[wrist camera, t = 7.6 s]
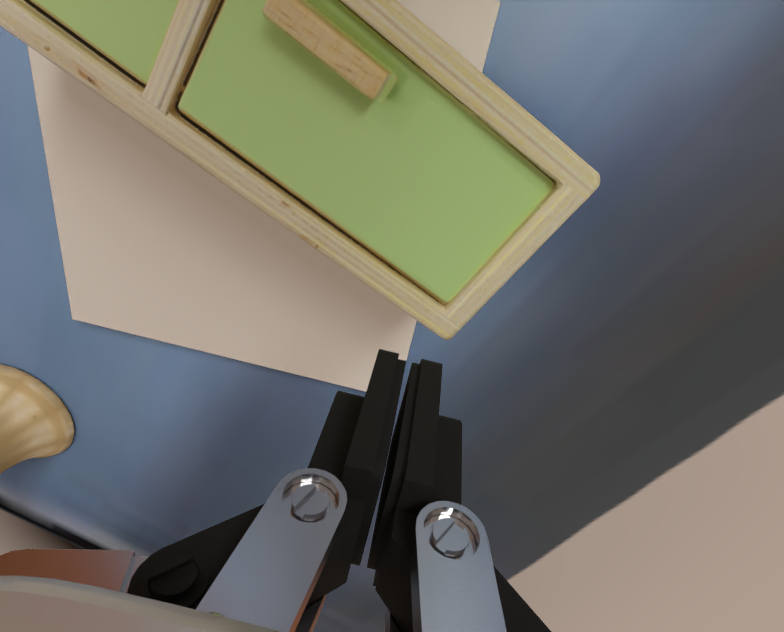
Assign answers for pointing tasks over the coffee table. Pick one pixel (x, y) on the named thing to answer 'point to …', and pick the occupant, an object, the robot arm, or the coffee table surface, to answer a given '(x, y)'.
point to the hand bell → (30, 419)
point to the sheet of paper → (211, 238)
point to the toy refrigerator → (334, 132)
